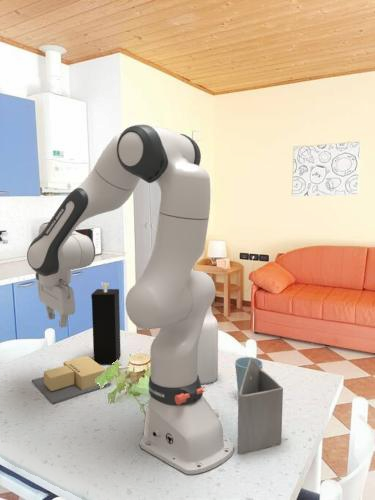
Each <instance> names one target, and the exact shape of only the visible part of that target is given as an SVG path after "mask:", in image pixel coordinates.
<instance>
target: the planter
mask: <svg viewBox="0 0 375 500" xmlns="http://www.w3.org/2000/svg"><path fill="white" fill-rule="evenodd" d="M250 357H251V358H250V359H249V362H248V366H247V369H246V372H245V376H244V379H243V382H242V386H241V389H240V393H239V396H238V397H237V398H238V401H237V454H238V455H243V454H247V453H252V452H256V451H259V450H264V449H267V448H272V447H274V446H277V445H281V444H282V432H283V431H282V430H283V429H282V428H283V405H284V404H283V403H284V402H283V401H284V399H283V398H284V397H283V396H284V388H283V386H282V385H280V383H279V382H278V381H277V380H275V379H274V378H273V377H272V376H271V375H269V373H267V372H266V371H265V370H263V368H262V369H261V367H260V366H259V365H258V364H257V363H256V362H255V361H254V359H253V358H254V357H252V356H250Z"/></svg>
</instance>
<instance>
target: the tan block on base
mask: <svg viewBox="0 0 375 500" xmlns="http://www.w3.org/2000/svg"><path fill="white" fill-rule="evenodd" d="M65 365H67V366H68V367H69V368H70V369H71V370H73V371H74V385H70V386H67V387H64V388H61V389H57V390H54V391H51V390H50V389H49V388H48V387H47V386H46V385H45V384H44V376H40V377H38V378H33V379H32V380H31V382H32V384H34V385H35V387H36V388H37V389H38V390H39V391H40V393H42V394H43V395H44V396H45V398H47V399H48V401H49V402H50V403H51V405H55V404H58V403H62V402H64V401H67V400H71V399H74V398H77V397H80V396H83V395H86V394H89V393H93V392H96V391H98V390H101V389H100V386H99V384H97V383H95V379H96V378H97V377H98V376H100V375H101V374H102V373H103V372H104V371H105V370H107V368H105V367H103V365H102V364H98V363H96V362H95V361H94V359H92V358H91V357H90V356H88V355H85V356H80V357H77V358H74V359H69V360H65V361H63V366H65ZM110 385H111V386H112V383H111V382H110V383H107V384H105V385H104V387H103V388H102V389H104V388H107V386H108V387H111V386H110Z"/></svg>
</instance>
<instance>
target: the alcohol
mask: <svg viewBox="0 0 375 500" xmlns="http://www.w3.org/2000/svg"><path fill="white" fill-rule="evenodd" d="M218 323H219V322H218V320H217V318H216V316H214V314H213V311H212V304H211V305H210V307H209V309H208V311H207V313H206V316H205V319H204V323H203V326H202V330H201V334H200V338H199V343H198V360H197V375H198V376H199V380H200V383H201V385H207V384H209V385H210V384H212V383H215V382H216V381H217V379H218V377H219V372H218V371H219V324H218Z"/></svg>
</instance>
